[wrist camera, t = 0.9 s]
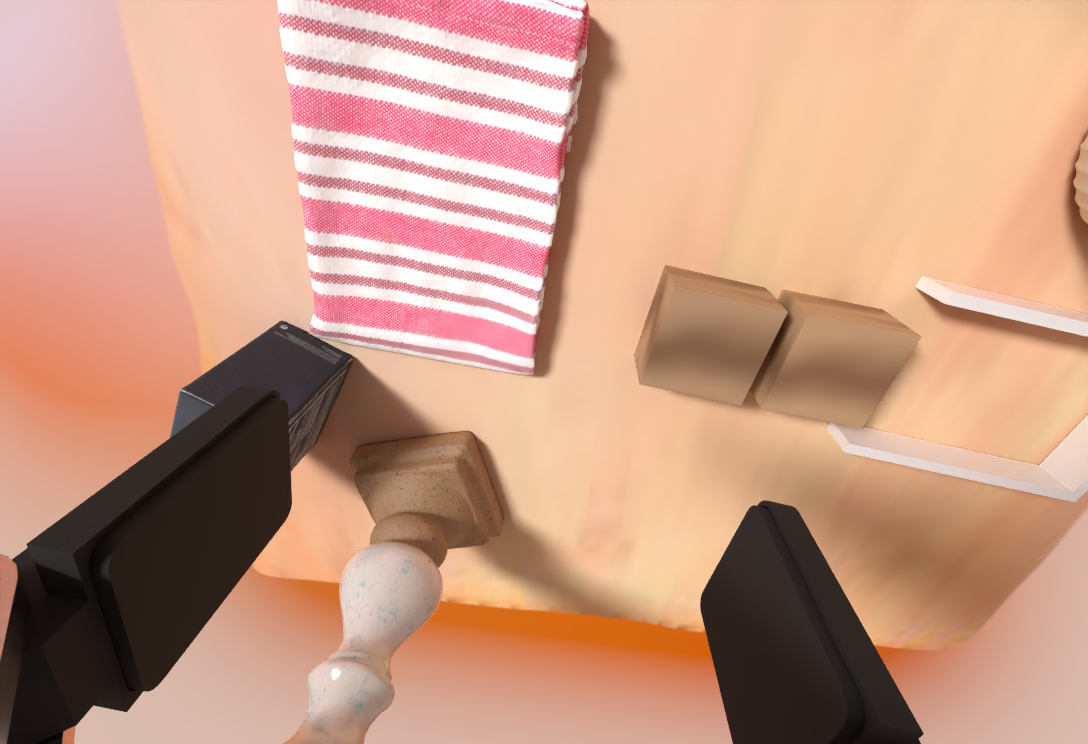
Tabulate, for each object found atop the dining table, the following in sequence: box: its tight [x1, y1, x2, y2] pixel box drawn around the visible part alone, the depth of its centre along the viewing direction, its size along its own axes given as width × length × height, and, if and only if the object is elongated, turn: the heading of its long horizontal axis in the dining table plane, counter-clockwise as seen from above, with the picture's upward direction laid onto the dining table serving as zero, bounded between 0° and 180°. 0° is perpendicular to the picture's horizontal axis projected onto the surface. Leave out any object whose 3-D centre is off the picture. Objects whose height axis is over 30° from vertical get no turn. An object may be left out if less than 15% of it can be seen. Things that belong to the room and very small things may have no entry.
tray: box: [827, 276, 1088, 503], centre depth 33 cm, size 13×18×3 cm
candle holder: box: [283, 431, 504, 744], centre depth 33 cm, size 11×11×24 cm
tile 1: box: [634, 265, 788, 406], centre depth 32 cm, size 7×7×4 cm
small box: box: [170, 321, 353, 471], centre depth 35 cm, size 11×6×10 cm, turn 149°
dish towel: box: [278, 0, 589, 375], centre depth 30 cm, size 17×23×4 cm
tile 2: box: [750, 290, 921, 429], centre depth 32 cm, size 7×7×4 cm
